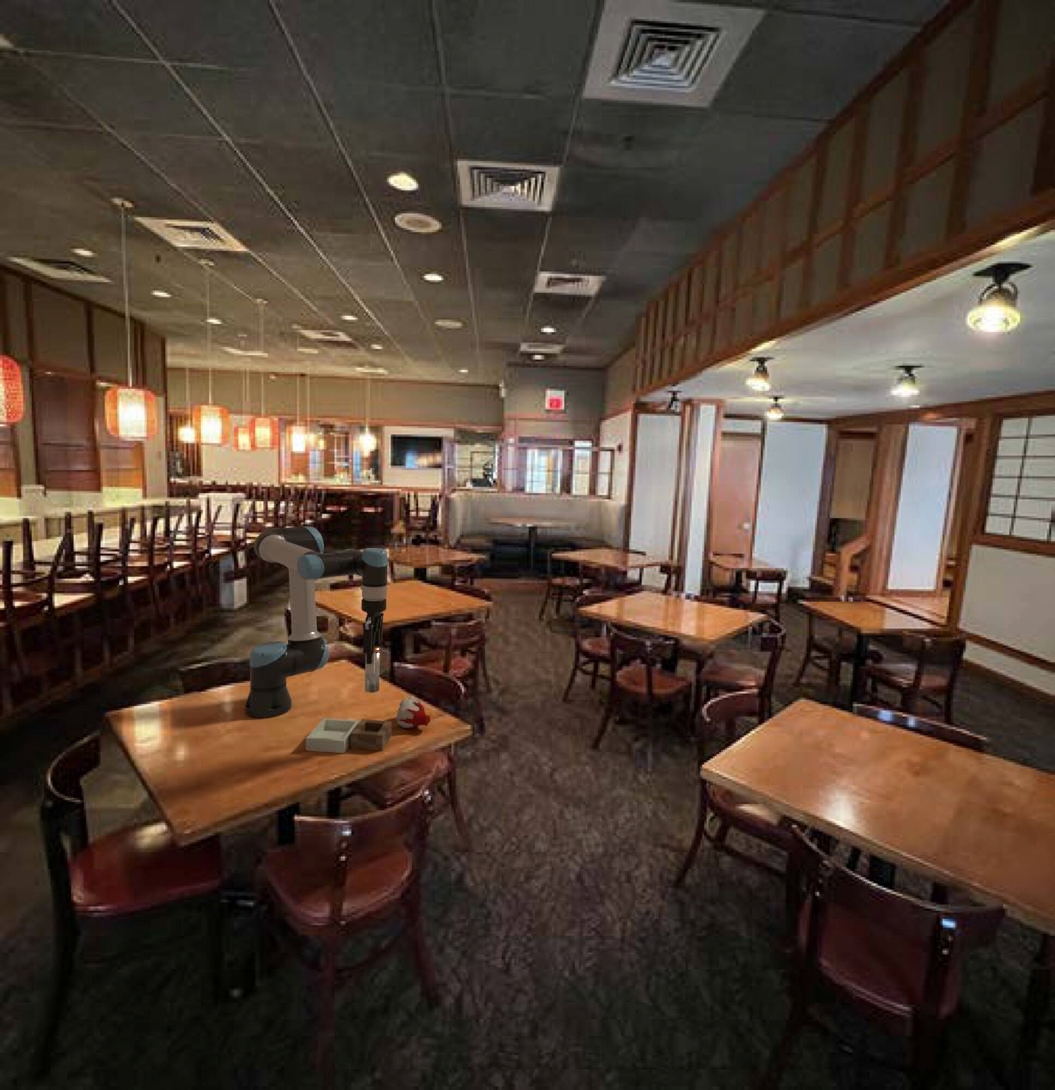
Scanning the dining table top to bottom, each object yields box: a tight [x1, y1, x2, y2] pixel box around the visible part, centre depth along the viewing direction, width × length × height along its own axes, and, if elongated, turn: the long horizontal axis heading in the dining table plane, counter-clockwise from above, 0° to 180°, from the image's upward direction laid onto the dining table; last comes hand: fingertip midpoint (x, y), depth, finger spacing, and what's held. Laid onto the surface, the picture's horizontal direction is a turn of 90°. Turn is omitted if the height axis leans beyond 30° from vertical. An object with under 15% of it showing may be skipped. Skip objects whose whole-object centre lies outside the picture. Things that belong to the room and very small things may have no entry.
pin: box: [364, 645, 381, 694], centre depth 175 cm, size 4×4×14 cm
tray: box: [305, 717, 361, 754], centre depth 177 cm, size 14×12×4 cm
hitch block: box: [350, 718, 392, 752], centre depth 177 cm, size 10×10×5 cm
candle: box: [396, 695, 431, 730], centre depth 190 cm, size 9×11×15 cm
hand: (372, 669), depth 175 cm, fingers closed on pin, 4 cm apart
